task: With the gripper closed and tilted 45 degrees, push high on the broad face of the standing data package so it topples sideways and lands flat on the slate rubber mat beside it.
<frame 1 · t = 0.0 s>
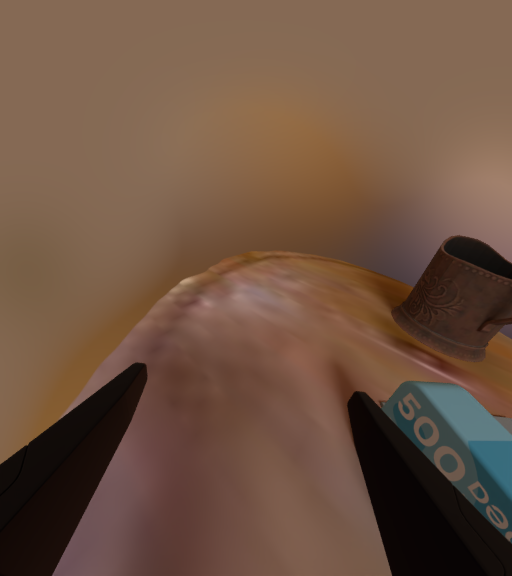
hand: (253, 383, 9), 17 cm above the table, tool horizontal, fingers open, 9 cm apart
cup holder: (441, 338, 47), on the table
data package: (404, 518, 19), on the table
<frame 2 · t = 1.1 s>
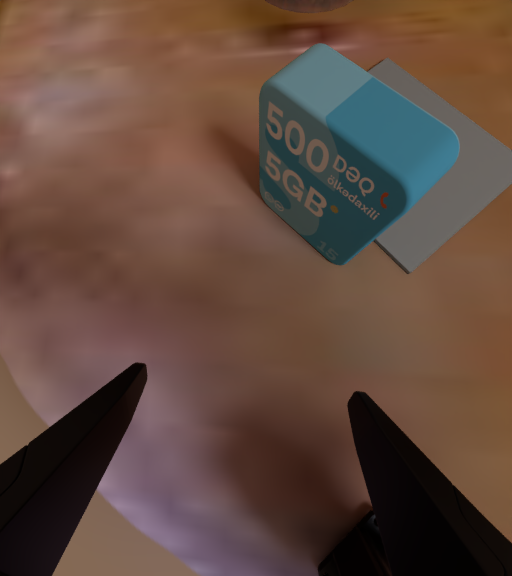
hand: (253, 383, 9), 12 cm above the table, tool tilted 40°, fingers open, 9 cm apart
slate rubber mat: (395, 153, 25), on the table
data package: (310, 220, 24), on the table
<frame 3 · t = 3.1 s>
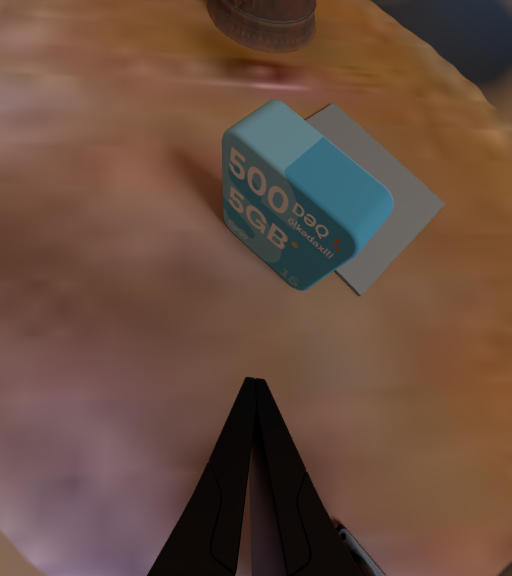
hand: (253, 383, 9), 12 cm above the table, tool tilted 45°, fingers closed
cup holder: (272, 27, 35), on the table
slate rubber mat: (344, 187, 28), on the table
data package: (272, 247, 25), on the table
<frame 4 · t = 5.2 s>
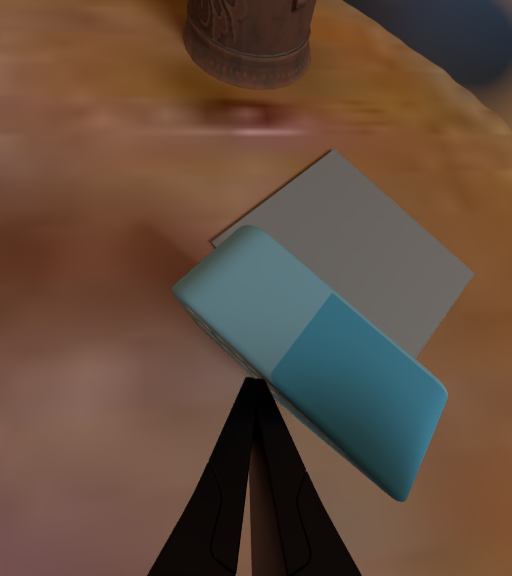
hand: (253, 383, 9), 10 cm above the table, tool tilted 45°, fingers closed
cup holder: (260, 57, 30), on the table
slate rubber mat: (349, 260, 23), on the table
data package: (261, 350, 19), on the table
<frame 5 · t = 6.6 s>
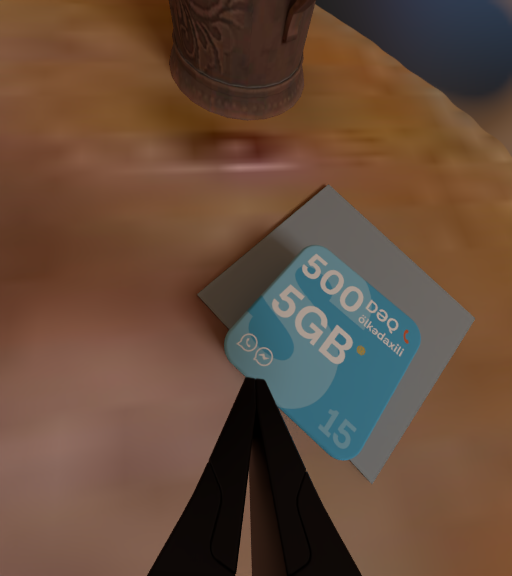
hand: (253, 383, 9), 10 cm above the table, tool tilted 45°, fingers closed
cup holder: (251, 83, 29), on the table
slate rubber mat: (344, 308, 22), on the table
data package: (271, 402, 16), point 3 cm above the table, touching slate rubber mat
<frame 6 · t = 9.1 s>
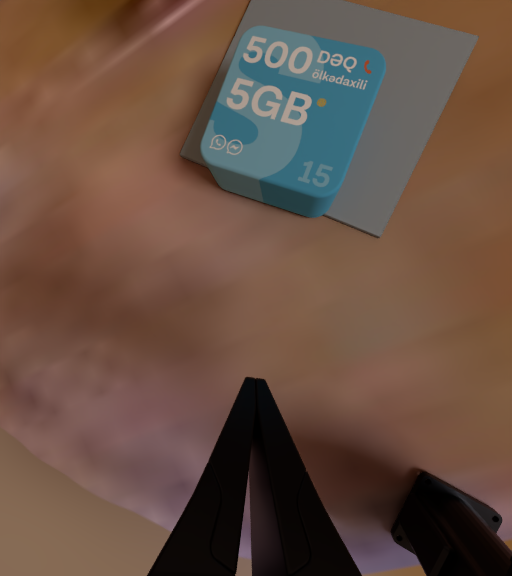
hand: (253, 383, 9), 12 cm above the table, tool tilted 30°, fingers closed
slate rubber mat: (316, 103, 21), on the table
data package: (262, 195, 19), point 3 cm above the table, touching slate rubber mat
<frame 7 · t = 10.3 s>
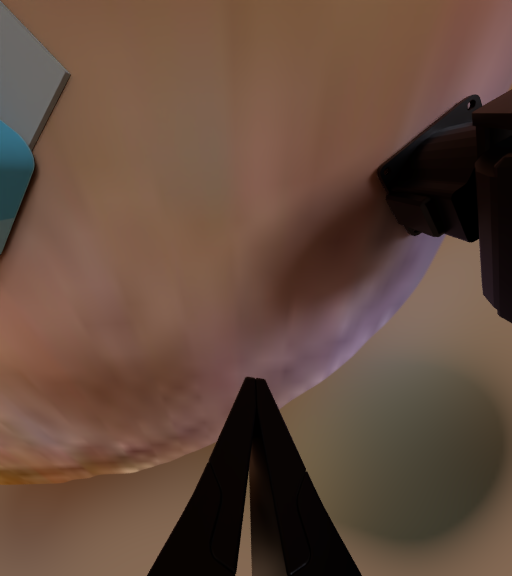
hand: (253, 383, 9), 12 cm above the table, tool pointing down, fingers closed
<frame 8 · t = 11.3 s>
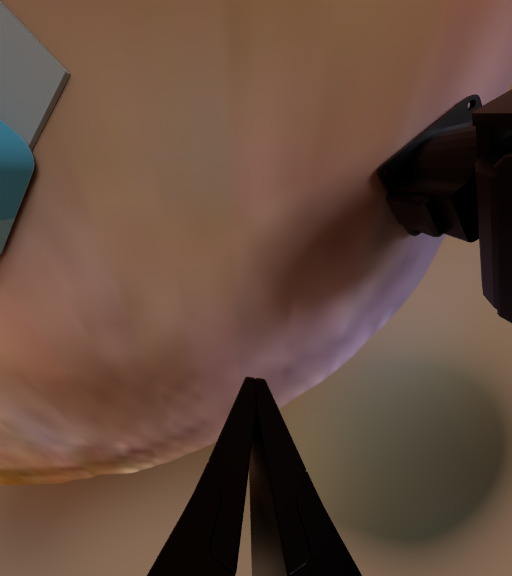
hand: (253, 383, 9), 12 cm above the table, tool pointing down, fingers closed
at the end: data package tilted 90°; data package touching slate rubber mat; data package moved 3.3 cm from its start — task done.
